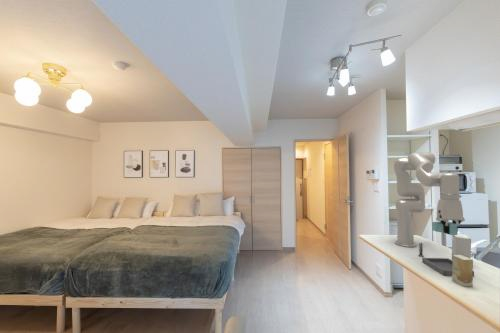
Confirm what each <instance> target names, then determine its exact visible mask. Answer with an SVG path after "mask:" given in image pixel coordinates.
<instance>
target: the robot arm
mask: <svg viewBox="0 0 500 333" xmlns="http://www.w3.org/2000/svg"><path fill="white" fill-rule="evenodd" d="M436 160H437V159H436V155H435V154H434V153H432V152H429V151H422V152H421V151H418V152H412V153H410V154H408V156H407V157H400V158H397V159H396V160H395V161H394V163H393V170H394V173H395V177H396V190H397V191H396V192H397V194H398V196H400V197H406V198H399V199H397V200H396V201H395V204H394V205H395V210H396V221H397V222H396V227H397V228H396V232H397V234H396V239H397V240H395V241H394V243H395V245H396V246H400V247H406V248H416V247H417V244H416V242H414V240H415V239H414V238H415V236H414V232H415V231H414V218H413V216H412V215H411V213H414V214H417V213H418V214H420V213H421V214H422V213H423V212H424V211H425V210H426V199H425V197H426V196H425V188H424V187H439V188H440V190H439V191H440V193H439V194H440V195H439V196H440V199H438V201H437V206H436V217H435V220H436V222H441V223H442V225H443V231H444V234H446V235H449V226H448V222H450V221H451V222H452V223H455V224H457V233H458V230H459V228H458V227H459V226H460V224H461V223H463V222H465V221H466V219H465V217H464V211H463V204H462V201H461V200H460V199H461V198H462V195H461V194H460V177H459V176H460V175H459V174H458V173H454V172H453V173H452V172H451V173H450V172H432V171H433V170H434V164H435V163H436ZM408 171H415V177H416V180H417V181H418V182H419V183H418V182H412V176H411V175H410V173H409V172H408ZM408 197H409V198H408ZM411 197H413V198H411Z"/></svg>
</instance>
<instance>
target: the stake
mask: <svg viewBox="0 0 500 333" xmlns="http://www.w3.org/2000/svg"><path fill="white" fill-rule="evenodd" d="M418 245H419V248H418V250H419V254H417V255H418V257H420V258H425V256H424V255H423V254H424V253H423V249H424V248H423V242H419V244H418Z"/></svg>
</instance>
